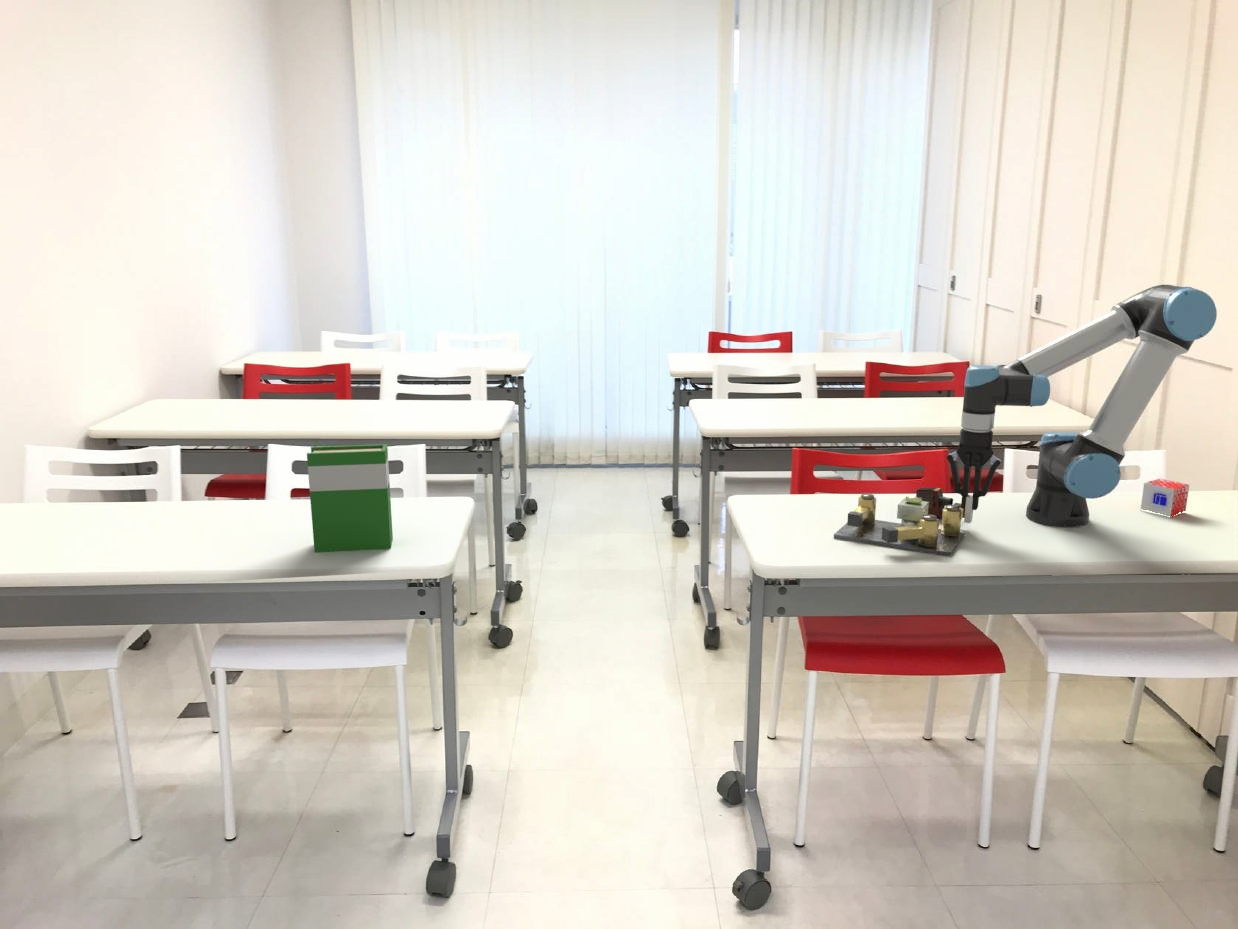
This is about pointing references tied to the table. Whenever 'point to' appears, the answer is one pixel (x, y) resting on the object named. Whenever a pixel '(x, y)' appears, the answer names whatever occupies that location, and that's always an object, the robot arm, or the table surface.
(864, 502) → the knob
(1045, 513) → the robot arm
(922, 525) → the knob
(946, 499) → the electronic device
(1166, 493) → the red and white box
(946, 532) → the knob
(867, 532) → the valve board
